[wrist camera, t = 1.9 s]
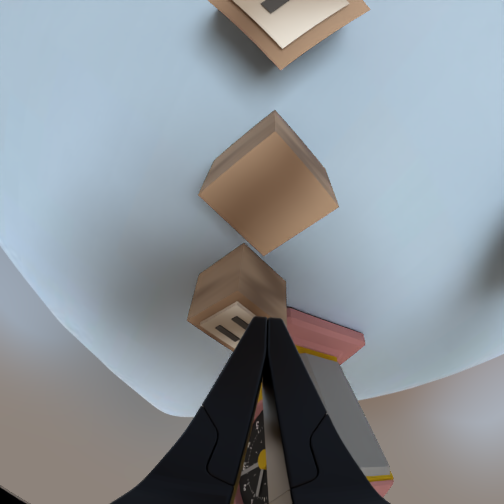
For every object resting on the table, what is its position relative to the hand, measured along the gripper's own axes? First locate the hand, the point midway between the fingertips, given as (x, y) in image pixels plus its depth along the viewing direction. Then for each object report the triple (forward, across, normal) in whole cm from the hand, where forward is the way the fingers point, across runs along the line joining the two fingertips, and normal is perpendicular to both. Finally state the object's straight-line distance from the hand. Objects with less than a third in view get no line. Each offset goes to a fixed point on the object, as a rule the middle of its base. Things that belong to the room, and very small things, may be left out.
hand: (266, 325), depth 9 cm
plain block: (+13, 0, 0) cm, 13 cm away
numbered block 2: (+13, 0, -10) cm, 16 cm away
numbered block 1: (+13, +2, +10) cm, 16 cm away
